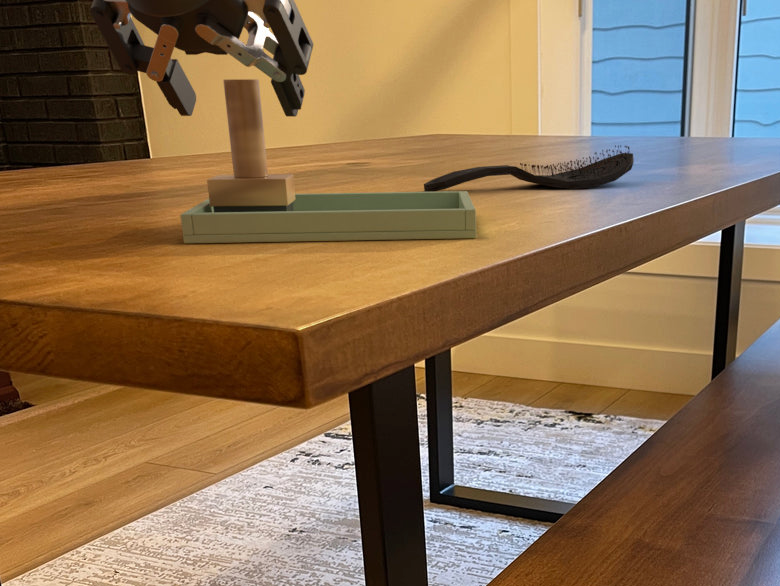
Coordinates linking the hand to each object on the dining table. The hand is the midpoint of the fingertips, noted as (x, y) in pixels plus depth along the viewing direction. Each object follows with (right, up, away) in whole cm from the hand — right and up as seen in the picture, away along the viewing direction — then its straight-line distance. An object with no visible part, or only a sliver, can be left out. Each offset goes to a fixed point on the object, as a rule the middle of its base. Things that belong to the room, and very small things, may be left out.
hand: (241, 107), depth 77 cm
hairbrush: (+23, +5, +34) cm, 41 cm away
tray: (+7, -8, +4) cm, 11 cm away
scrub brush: (0, -8, +3) cm, 9 cm away
